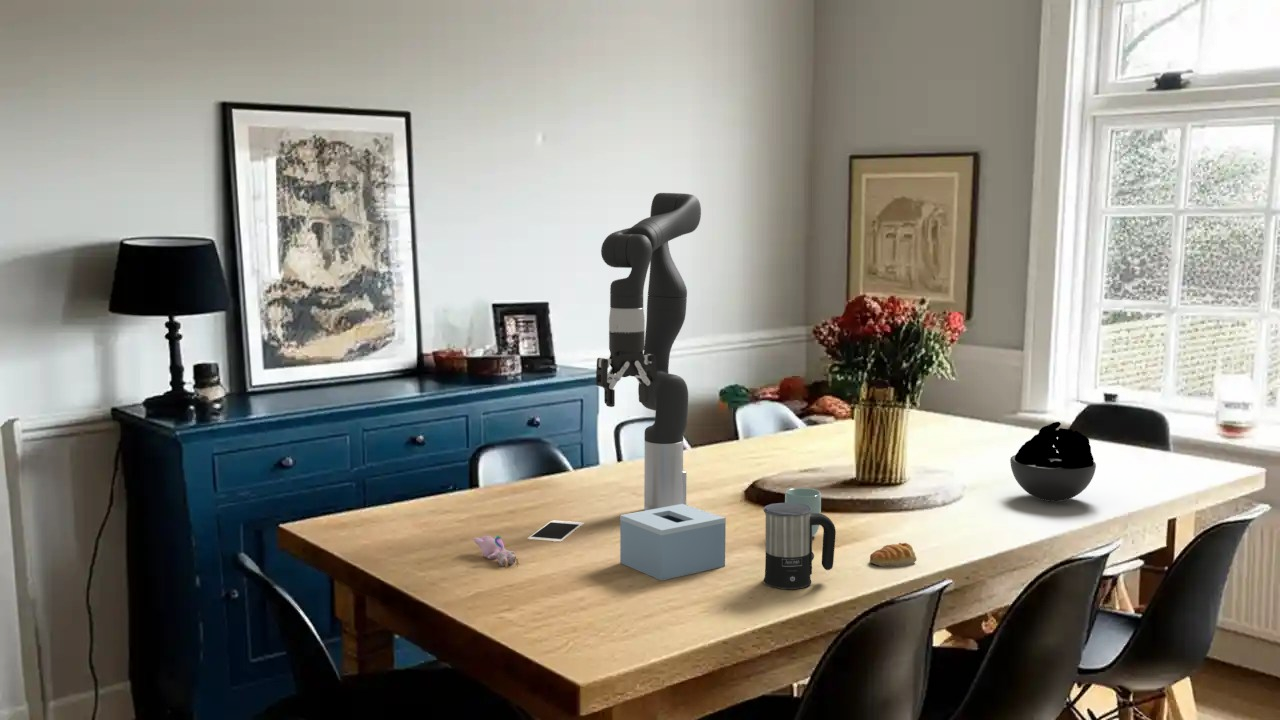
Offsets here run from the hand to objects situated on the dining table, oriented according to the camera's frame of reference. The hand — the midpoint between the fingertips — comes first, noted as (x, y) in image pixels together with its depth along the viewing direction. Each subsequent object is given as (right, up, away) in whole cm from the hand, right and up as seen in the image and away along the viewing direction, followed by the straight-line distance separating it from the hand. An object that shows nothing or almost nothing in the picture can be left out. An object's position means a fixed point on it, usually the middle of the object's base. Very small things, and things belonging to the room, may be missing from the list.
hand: (626, 404), depth 250 cm
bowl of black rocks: (+105, -26, +41) cm, 115 cm away
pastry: (+55, -32, -10) cm, 64 cm away
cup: (+39, -30, +8) cm, 49 cm away
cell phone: (-16, -29, +12) cm, 36 cm away
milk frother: (+32, -33, -20) cm, 50 cm away
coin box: (+9, -32, -13) cm, 36 cm away
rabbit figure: (-27, -32, -9) cm, 43 cm away
